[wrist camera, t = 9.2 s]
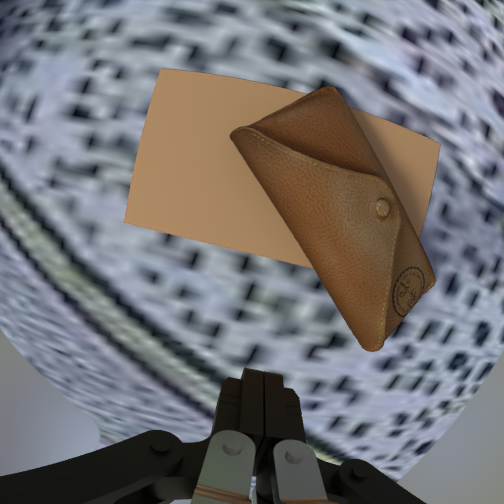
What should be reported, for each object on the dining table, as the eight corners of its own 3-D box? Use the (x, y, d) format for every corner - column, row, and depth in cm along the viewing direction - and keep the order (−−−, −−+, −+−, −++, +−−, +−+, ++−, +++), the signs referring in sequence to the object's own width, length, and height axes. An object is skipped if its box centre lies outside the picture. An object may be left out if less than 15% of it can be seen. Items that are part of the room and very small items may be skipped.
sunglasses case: (443, 282, 21) (447, 338, 16) (371, 308, 26) (356, 362, 20) (329, 77, 19) (299, 69, 13) (258, 128, 23) (210, 141, 18)
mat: (162, 69, 19) (161, 68, 19) (438, 144, 20) (440, 143, 20) (125, 222, 22) (123, 222, 22) (401, 288, 22) (403, 290, 22)
